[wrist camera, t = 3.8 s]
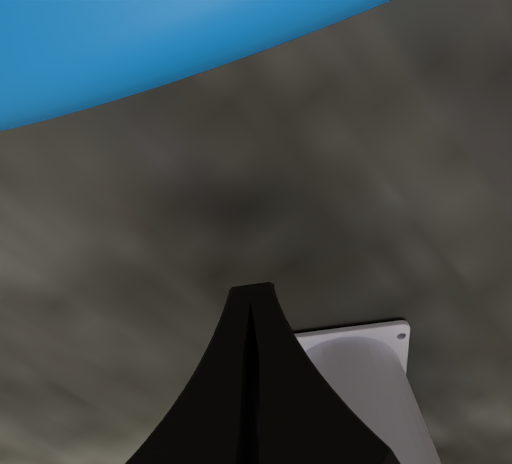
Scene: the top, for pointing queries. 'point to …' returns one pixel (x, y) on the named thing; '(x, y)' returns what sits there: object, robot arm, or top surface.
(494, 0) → the top surface
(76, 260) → the top surface
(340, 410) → the robot arm
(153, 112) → the top surface
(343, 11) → the alarm clock
